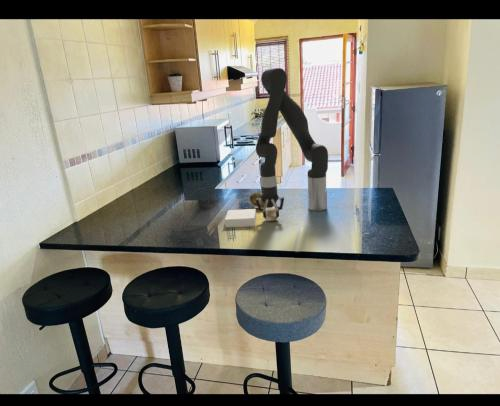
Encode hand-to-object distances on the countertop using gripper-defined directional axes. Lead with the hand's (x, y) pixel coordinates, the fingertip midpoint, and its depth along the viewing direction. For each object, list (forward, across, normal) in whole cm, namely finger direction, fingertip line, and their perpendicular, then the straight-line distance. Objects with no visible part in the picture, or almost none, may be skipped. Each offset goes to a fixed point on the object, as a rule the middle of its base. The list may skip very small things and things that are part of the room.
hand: (271, 217), depth 183 cm
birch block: (0, 0, 0) cm, 0 cm away
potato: (+1, +5, -19) cm, 20 cm away
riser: (+1, +15, 0) cm, 15 cm away
